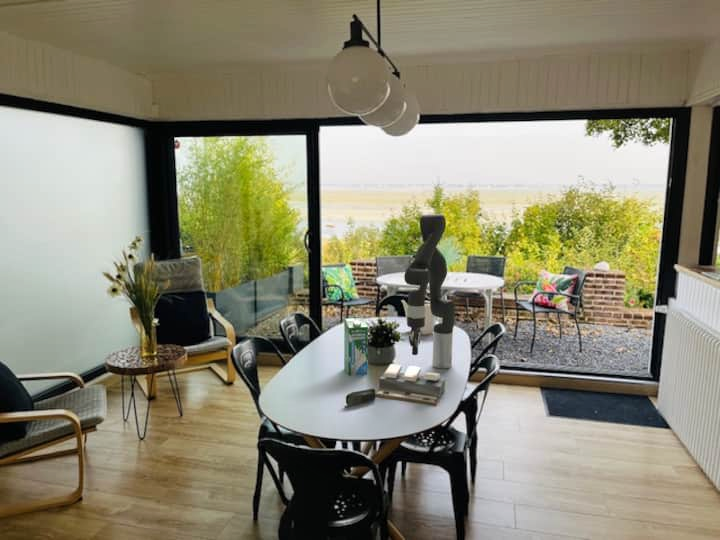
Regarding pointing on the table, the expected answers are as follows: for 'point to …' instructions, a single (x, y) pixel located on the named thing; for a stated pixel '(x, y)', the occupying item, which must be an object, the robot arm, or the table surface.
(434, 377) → the cream box
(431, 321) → the watering can
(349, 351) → the milk carton
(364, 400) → the mobile phone
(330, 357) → the table surface
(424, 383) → the switch box
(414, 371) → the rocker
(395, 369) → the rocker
